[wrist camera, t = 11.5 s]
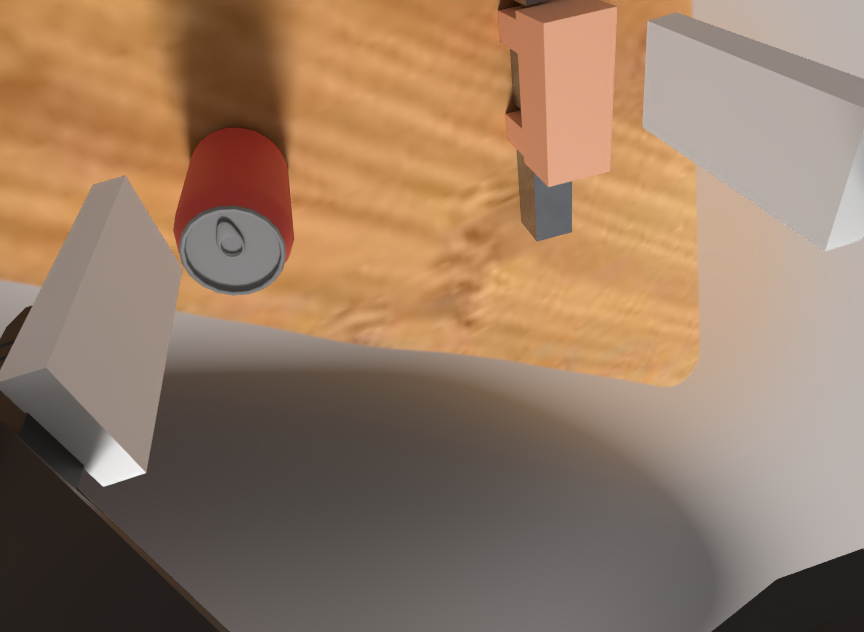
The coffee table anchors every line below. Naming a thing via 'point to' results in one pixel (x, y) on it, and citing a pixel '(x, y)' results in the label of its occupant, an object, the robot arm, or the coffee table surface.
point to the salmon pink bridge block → (562, 86)
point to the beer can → (235, 213)
